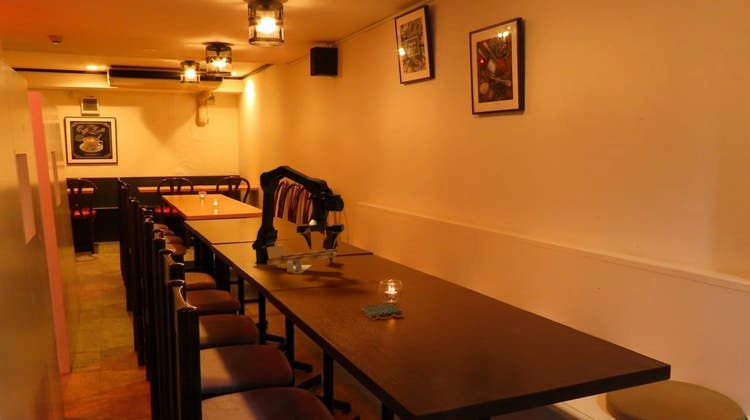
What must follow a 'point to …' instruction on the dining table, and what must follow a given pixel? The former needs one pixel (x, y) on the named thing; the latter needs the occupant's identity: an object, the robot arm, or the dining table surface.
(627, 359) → the dining table surface
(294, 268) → the stand
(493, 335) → the dining table surface
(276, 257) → the tan block
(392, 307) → the woven mat
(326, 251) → the beam
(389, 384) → the dining table surface
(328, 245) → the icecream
